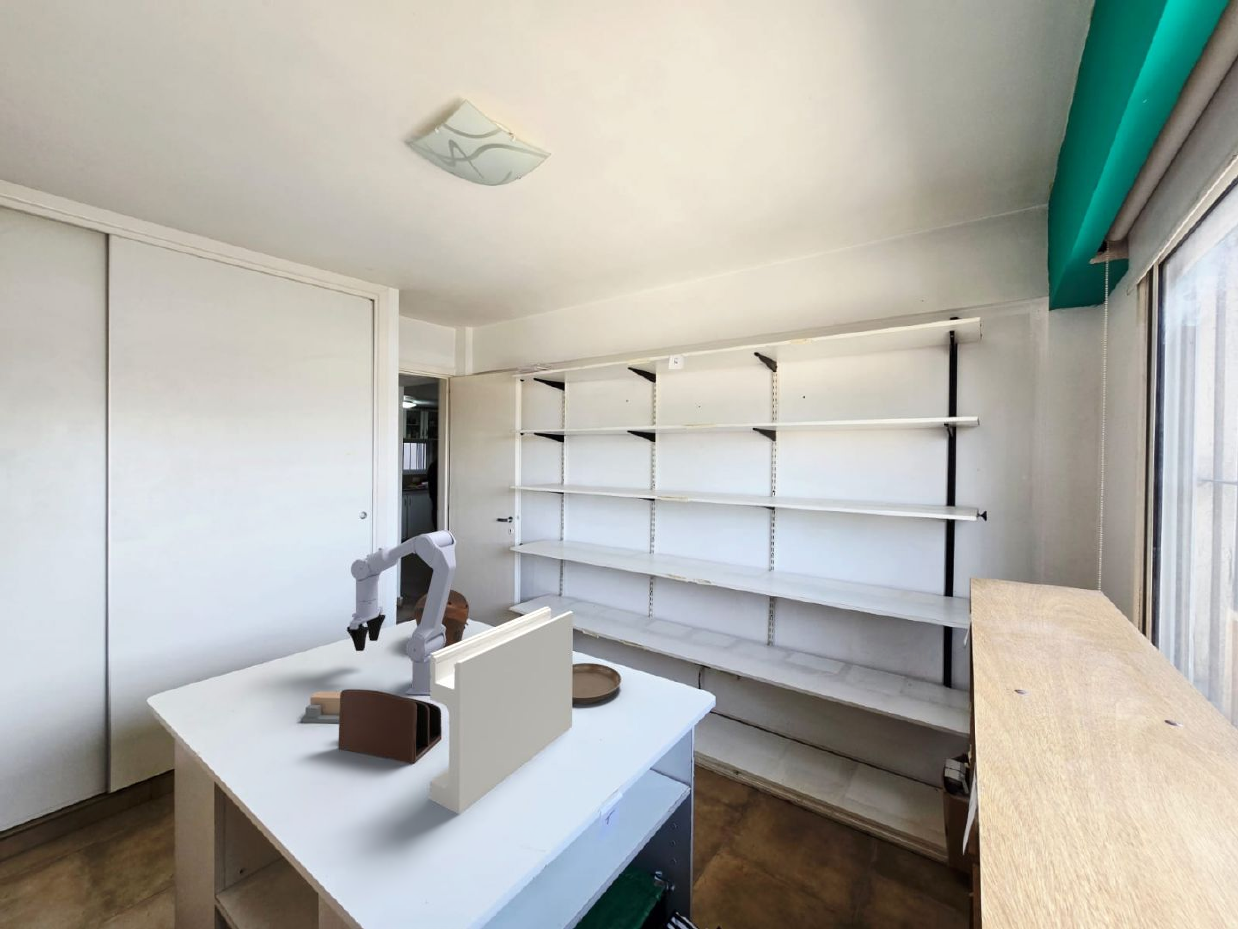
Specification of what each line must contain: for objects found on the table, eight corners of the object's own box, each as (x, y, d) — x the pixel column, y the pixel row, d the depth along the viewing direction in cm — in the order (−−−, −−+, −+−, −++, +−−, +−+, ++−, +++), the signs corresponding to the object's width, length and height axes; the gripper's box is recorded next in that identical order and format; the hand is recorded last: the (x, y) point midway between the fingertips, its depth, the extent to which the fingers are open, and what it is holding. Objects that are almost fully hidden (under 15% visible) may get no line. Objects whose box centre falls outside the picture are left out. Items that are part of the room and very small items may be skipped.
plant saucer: (588, 717, 128) (588, 704, 128) (531, 693, 141) (531, 681, 141) (635, 687, 145) (635, 675, 145) (580, 668, 157) (580, 657, 157)
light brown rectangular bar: (372, 708, 129) (372, 693, 129) (366, 714, 126) (366, 698, 126) (318, 707, 129) (317, 691, 129) (310, 713, 126) (310, 697, 126)
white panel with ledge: (459, 814, 93) (460, 663, 92) (429, 799, 97) (430, 653, 96) (571, 726, 123) (572, 611, 122) (545, 717, 127) (546, 606, 127)
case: (438, 662, 159) (439, 605, 159) (400, 649, 170) (400, 595, 170) (482, 646, 174) (483, 593, 174) (444, 634, 185) (445, 585, 185)
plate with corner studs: (382, 707, 131) (382, 694, 131) (365, 724, 123) (365, 710, 123) (321, 706, 132) (321, 692, 132) (300, 722, 124) (300, 708, 124)
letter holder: (414, 765, 108) (414, 699, 107) (337, 750, 113) (337, 687, 113) (442, 739, 117) (442, 679, 117) (370, 726, 123) (370, 668, 122)
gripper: (366, 592, 155) (366, 636, 156) (338, 606, 141) (339, 655, 141) (389, 592, 155) (389, 636, 156) (364, 606, 141) (364, 655, 141)
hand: (367, 645), depth 148 cm, fingers open, 7 cm apart
